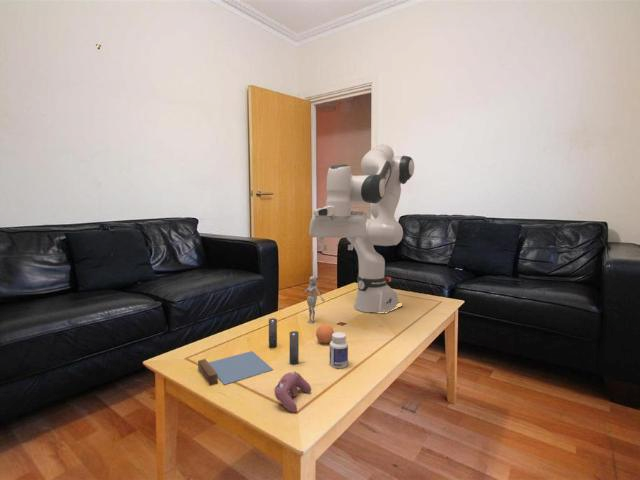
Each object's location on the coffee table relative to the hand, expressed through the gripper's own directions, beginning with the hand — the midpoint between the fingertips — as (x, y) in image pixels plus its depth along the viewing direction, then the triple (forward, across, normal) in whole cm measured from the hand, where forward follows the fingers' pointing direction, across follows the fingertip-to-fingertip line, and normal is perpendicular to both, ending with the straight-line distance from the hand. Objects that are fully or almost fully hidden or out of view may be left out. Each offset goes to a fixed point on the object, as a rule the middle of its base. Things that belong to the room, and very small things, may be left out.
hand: (337, 250), depth 122 cm
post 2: (+30, +16, +24) cm, 41 cm away
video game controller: (+30, +18, +42) cm, 55 cm away
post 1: (+30, +22, +12) cm, 39 cm away
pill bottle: (+30, +4, +26) cm, 40 cm away
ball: (+26, +5, +10) cm, 29 cm away
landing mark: (+30, +32, +25) cm, 50 cm away
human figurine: (+30, +8, -9) cm, 32 cm away
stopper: (+30, +40, +29) cm, 58 cm away
